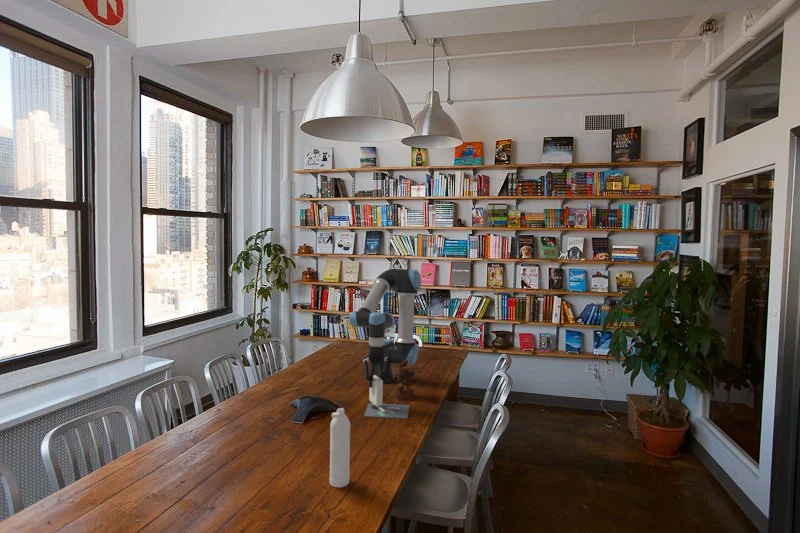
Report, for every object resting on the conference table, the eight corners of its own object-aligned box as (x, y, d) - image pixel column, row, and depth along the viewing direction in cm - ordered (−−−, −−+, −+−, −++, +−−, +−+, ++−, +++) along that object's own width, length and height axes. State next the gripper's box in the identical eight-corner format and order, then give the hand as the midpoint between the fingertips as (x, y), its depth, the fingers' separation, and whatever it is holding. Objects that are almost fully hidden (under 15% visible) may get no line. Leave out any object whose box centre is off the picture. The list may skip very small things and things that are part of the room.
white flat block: (376, 402, 219) (376, 374, 218) (388, 413, 206) (389, 383, 205) (367, 404, 217) (368, 375, 216) (379, 414, 204) (380, 384, 203)
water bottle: (334, 476, 152) (335, 404, 150) (352, 479, 150) (353, 406, 149) (323, 489, 143) (324, 413, 142) (342, 493, 142) (343, 416, 140)
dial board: (368, 404, 219) (368, 403, 219) (409, 405, 218) (409, 404, 218) (363, 416, 203) (364, 415, 203) (407, 418, 202) (407, 417, 202)
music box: (408, 403, 222) (405, 363, 221) (388, 400, 227) (386, 361, 227) (421, 394, 235) (419, 356, 235) (402, 392, 240) (400, 355, 240)
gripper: (388, 341, 219) (387, 388, 221) (358, 344, 212) (357, 392, 214) (395, 345, 213) (394, 393, 214) (363, 348, 205) (362, 398, 207)
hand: (375, 393), depth 214 cm, fingers closed on white flat block, 3 cm apart
